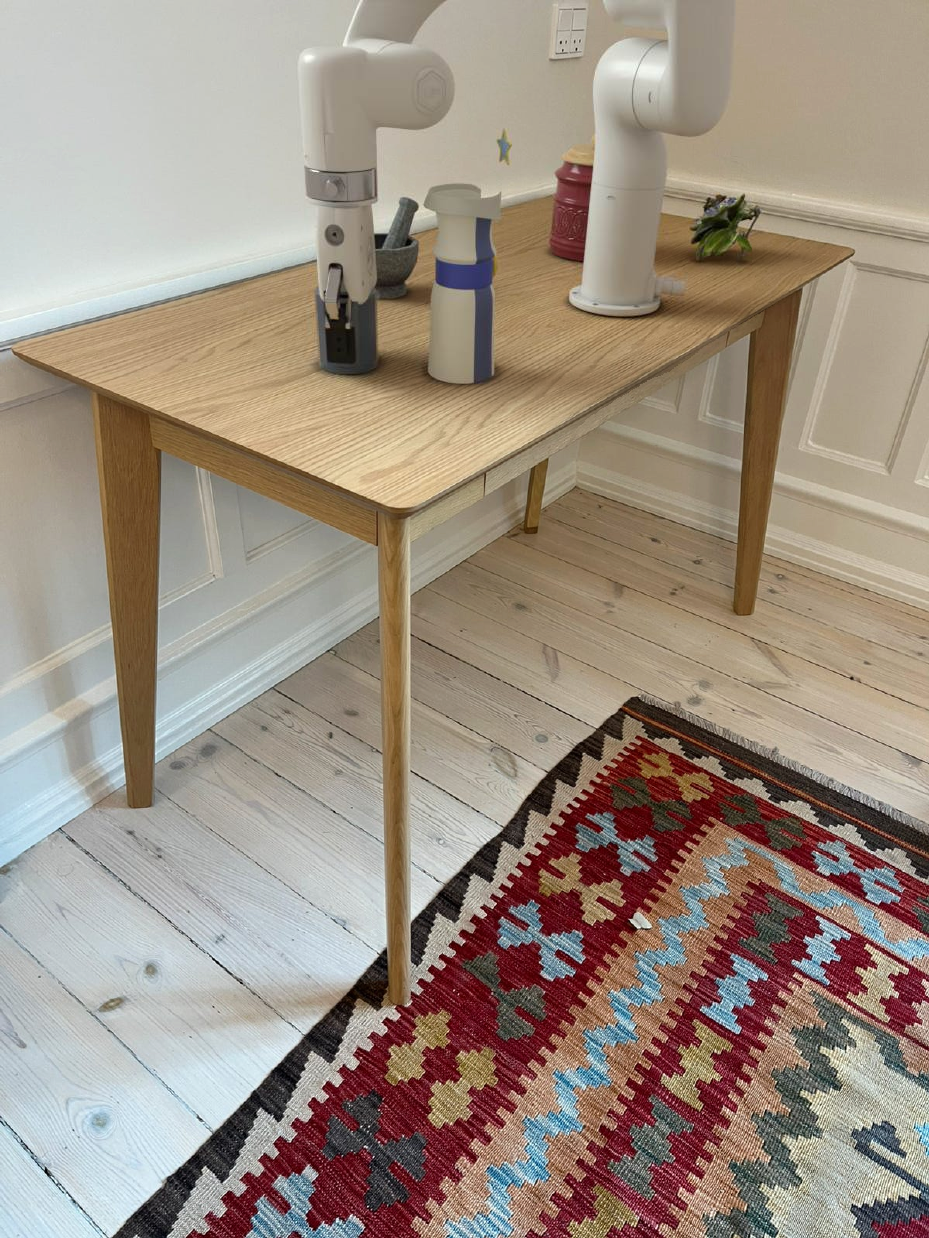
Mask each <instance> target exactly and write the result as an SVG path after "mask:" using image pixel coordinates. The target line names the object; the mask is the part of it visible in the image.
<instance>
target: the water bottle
mask: <svg viewBox="0 0 929 1238" xmlns="http://www.w3.org/2000/svg"><path fill="white" fill-rule="evenodd" d="M496 144H497V145H498V148H499V161H498V162H499V163H502V162H503V161H504V162H505V163H506V165H508V166H509V165H510V157H509V150H511V148H512V146H513V144H512V142H510V141H508V138H507V133H506V129H505V128H503V129H502V134H501V138H496ZM501 204H502V191H499V193H497V194H496V195H492V196H488V197H482V189H481V188H480V187H479V186H477V185H475V184H471V183H457V182H456V183H445V184H444V183H443V184H438V185H434V186H432V187H431V186H430V188H429V189H428V192H427V194H426V196H425V199H424V201H423V204H422V205H423V207H424V208H425V209H427V210H429V211H432V212H434V213H435V216H436V221H437V229H438V230H437V237H436V242H435V244H434V245H433V246H432V248H431V253H432V255H434V257H435V269H434V271H435V273H434V275H435V279H434V283H433V285H432V289H431V295H430V318H429V319H430V320H429V321H430V322H429V323H430V324H429V330H430V331H429V347H428V361H427V373H428V375H429V376H431V378H433V379H435V380H438V381H440V382H445V383H448V384H458V385H459V384H462V385H463V384H464V385H466V384H476V383H482V382H484V381H488V380H490V379H491V378H492V377H493V376H494V375H495V321H496V320H495V319H496V318H495V317H496V315H495V314H496V293H495V287H494V284H493V278H495V276H496V275H497V272H498V259H497V254H498V251H497V249H496V247H495V245H494V242H493V236H492V233H493V232H492V231H493V230H492V229H493V224H494V223H493V222H494V221H499V225H500V226H502V217H501V215H502V214H501V208H502V207H501V206H502V205H501Z"/></svg>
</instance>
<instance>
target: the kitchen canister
mask: <svg viewBox="0 0 929 1238" xmlns="http://www.w3.org/2000/svg"><path fill="white" fill-rule="evenodd" d="M594 153H595V133H594V134H593V135H592V137H591V140H590V144H579V145H574V146H572V147H571V148H570V149H569V150H567V151H565V152H564V153H563V154H562V155H561V160H562V161H563V163H562V165H561V166H560V167H558V168H557V169H556V170H555V171H554V176H555V178H556V180H557V183H556V188H555V189H556V190H555V192H554V193H553V195H552V198H553V202H552V203H553V205H552V218H551V230H550V233H549V241H548V242H549V247H550V250H549V251H550V252H551V253H552V254H554V255H555V256H557V257H560V258H563V259H567V260H573V261H578V262H584V255H585V245H586V235H587V225H588V215H589V204H590V194H591V184H592V176H593V165H594Z"/></svg>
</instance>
